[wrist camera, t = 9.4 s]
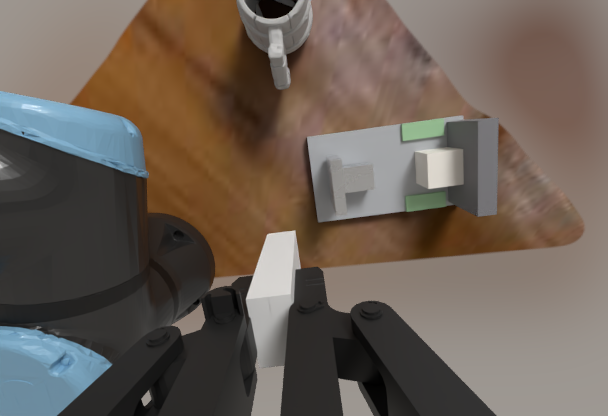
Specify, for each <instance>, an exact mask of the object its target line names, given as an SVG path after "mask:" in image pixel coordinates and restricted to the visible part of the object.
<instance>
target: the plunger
mask: <svg viewBox="0 0 608 416" xmlns="http://www.w3.org/2000/svg"><path fill="white" fill-rule="evenodd" d="M326 161H327V169H328V178H329V186H330V195H331V203H332V206H333V209H334V211H335V214H336V216H341V215H347V206H346V197H345V193H350V192H358V191H365V190H373V189H375V184H374V172H373V164H372V163H370V162H368V163H361V164H354V165H346V166H342V159H341V158H339V157H338V156H337V155H329V156H326Z"/></svg>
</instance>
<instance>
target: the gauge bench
mask: <svg viewBox="0 0 608 416" xmlns="http://www.w3.org/2000/svg"><path fill="white" fill-rule="evenodd" d="M307 142H308V149H309V157H310V165H311V172H312V180H313V188H314V195H315V203H316V211H317V218H318V222H326V221H334V220H341V219H349V218H356V217H364V216H372V215H379V214H387V213H395V212H402V211H407V212H409V211H417V210H425V209H432V208H440V207H446V206H448V205H456V206H458V207H460V208H462V209H464V210H466V211H468V212H470V213H472V214H474V215H476V216H478V217H479V216H487V215H494V214H497V172H498V118H486V119H468V120H463V116H454V117H447V118H440V119H433V120H425V121H418V122H411V123H404V124H397V125H390V126H382V127H375V128H368V129H361V130H354V131H347V132H340V133H332V134H325V135H318V136H311V137H307ZM444 147H451V148H459V149H463V167H464V184H463V185H455V186H448V187H440V188H433V189H427V188H425V187H423V186H421V185H419V184H417V183H416V168H415V151H422V150H429V149H437V148H444ZM329 155H337V156H338V157H339V158H341V159H342V166H346V165H354V164H361V163H368V162H370V163H372V164H373V172H374V184H375V189H373V190H365V191H358V192H350V193H345V197H346V206H347V215H341V216H336V214H335V211H334V209H333V206H332V203H331V195H330V186H329V178H328V169H327V161H326V156H329Z"/></svg>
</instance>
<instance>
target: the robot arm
mask: <svg viewBox="0 0 608 416" xmlns="http://www.w3.org/2000/svg"><path fill="white" fill-rule="evenodd" d="M147 178H148V172H147V171H146V167H145V158H144V149H143V139H142V135H141V133H140V131H139V129H138V128H137V127H136V126H135V125H134V124H133V123H132V122H131V121H129V120H128V119H126V118H124V117H121V116H118V115H114V114H110V113H106V112H101V111H97V110H92V109H88V108H83V107H78V106H73V105H69V104H64V103H58V102H53V101H49V100H44V99H39V98H34V97H29V96H24V95H18V94H13V93H8V92H2V91H0V416H251V412H252V406H253V400H254V394H255V389H256V383H257V374H256V368H255V363H256V358H257V359H258V364H259V368H266V367H275V366H284V365H285V367H284V378H283V391H282V403H281V416H343V411H342V403H341V397H340V389H339V382H338V378H340V379H346V380H352V381H357V382H358V385H359V389H360V391H361V392H362V394H363V396H364V398H365V400H366V402H367V403H368V406H369V407H370V409H371V411H372V413H373V415H374V416H496V415H495V414H494V413H493V412H492V411H491V410H490V409H489V408H488V407H487V405H486V404H485V403H484V402H483V401H482V400H481V399H480V398H479V397H478V396H477V395H476V394H475V393H474V392H473V391H472V390H471V389H470V388H469V387H468V386H467V385H466V384H465V383H464V382H463V381H462V380H461V379H460V378H459V377H458V376H457V375H456V374H455V373H454V372H453V371H452V370H451V369H450V368H449V367H448V366H447V364H445V363H444V361H443V360H442V359H441V358H440V357H439V356H438V355H437V354H435V352H434V351H433V350H432V349H431V348H430V347H429V346H428V345H427V344H426V343H425V342H424V341H423V340H422V339H421V338H420V337H419V336H418V335H417V334H416V333H415V332H414V331H413V330H412V329H411V328H410V327H409V326H408V325H407V324H406V323H405V322H404V320H403V319H402V318H401V317H400V316H399V315H398V314H397V313H396V312H395V311H394V310H393V309H392V308H391V307H390V306H388V305H386V304H385V303H381V302H378V301H366V302H361V303H359V304H356V305H355V306H354V307H353V308H352V309H351V312H350V313H343V312H339V311H336V310H334V309H332V308H331V307H330V306H329V305H328V302H327V297H326V289H325V283H324V276H323V271H322V270H321V269H320V268H318V267H312V268H304V269H301V267H300V260H299V253H298V246H297V239H296V232H295V231H288V232H280V233H272V234H267V237H266V240H265V243H264V246H263V249H262V252H261V255H260V258H259V261H258V264H257V267H256V270H255V273H254V276H246V277H239V278H238V279H237V280H236V281H235V282H233V283H232V286H224V287H219V288H216V289H213V290H211V291H209V290H210V288H211V286H212V283H213V280H214V275H215V262H214V257H213V254H212V251H211V249H210V246H209V245H208V243H207V241H206V240H205V238H204V237H203V236H202V235H201V233H200V232H199V231H198V230H196V229H195V228H194V227H193V226H192V225H190V224H189V223H187V222H186V221H184V220H182V219H180V218H177V217H175V216H172V215H168V214H162V213H147ZM201 303H202V307H203V311H204V315H205V319H206V320H205V322H204V324H203V327H202V329H201V330H198V331H196V332H193V333H190V334H186V335H184V336H182V335H181V332H180V329H179V328H178V327H175V326H171V325H172V324H173V323H175V322H177V321H178V320H180V319H181V318H183V317H185V316H186V315H188V314H189V313H191V312H192V311H193V310H195V309H196V308H197V307H198V306H199V305H200V304H201ZM148 390H149V392H150V395H151V401H150V402H149V403H148V404H147V405H146V406H145V407H144V406H143V403H142V400H141V398H142V397H143V396H144V395H145V393H146V392H147V391H148Z"/></svg>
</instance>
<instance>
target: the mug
mask: <svg viewBox="0 0 608 416" xmlns="http://www.w3.org/2000/svg"><path fill="white" fill-rule="evenodd" d="M236 1H237V7H238V10H239V13H240V16H241V20H242V22H243V23H244V25H245V29H246V31H247V35H248V37H249V38H250V39H251V40H252V42H253V43H254V44H255V45H256V46H257V47H258V48H259V49H261V50H263V51H264V52H266V53H268V56H269V58H270V61H271V64H270V66H271V70H272V76H273V78H274V85H275V87H276V88H277V89H287V88H289V86H290V71H289V68H288V66H287V56H286V54H289V53H291V52H294V51H295V50H297V49H298V48H299V47H300V46H302V44H303V43H304V42H305V41H306V39H307V38H308V36H309V33H310V30H311V27H312V17H313V14H312V7H311V0H296V1H297V3H296V4H295V3H294V2H293V1H291V0H274V1H277V2H280V3H283V4H285V5H288V6H291V7H294V8H293V9H292V10H291V11H290V12H289V13H288V14H287V15H285V16H283V17H280V18H276V19H266V18H263V16H262V13H261V10H260V8H259V5H258V4H259V2H260V1H261V0H236ZM255 9H256V14H255V13H254V12H255Z"/></svg>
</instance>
